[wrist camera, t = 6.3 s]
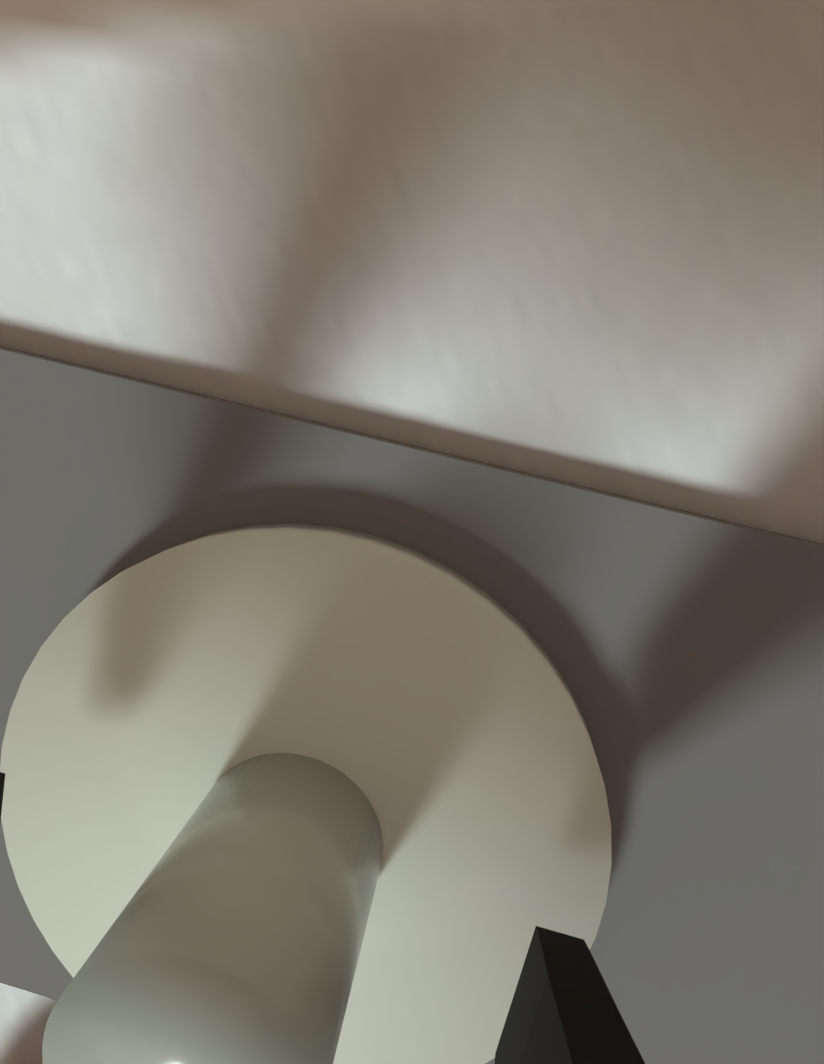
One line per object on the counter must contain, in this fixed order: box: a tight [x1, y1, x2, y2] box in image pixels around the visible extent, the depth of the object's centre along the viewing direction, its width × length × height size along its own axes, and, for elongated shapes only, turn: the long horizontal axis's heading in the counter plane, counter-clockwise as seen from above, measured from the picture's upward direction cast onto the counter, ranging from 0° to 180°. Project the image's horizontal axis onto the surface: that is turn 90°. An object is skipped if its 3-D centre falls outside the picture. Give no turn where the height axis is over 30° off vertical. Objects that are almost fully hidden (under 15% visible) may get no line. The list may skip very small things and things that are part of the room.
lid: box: [0, 523, 612, 1064], centre depth 9 cm, size 10×10×5 cm
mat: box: [0, 346, 824, 1064], centre depth 12 cm, size 18×12×1 cm, turn 77°
